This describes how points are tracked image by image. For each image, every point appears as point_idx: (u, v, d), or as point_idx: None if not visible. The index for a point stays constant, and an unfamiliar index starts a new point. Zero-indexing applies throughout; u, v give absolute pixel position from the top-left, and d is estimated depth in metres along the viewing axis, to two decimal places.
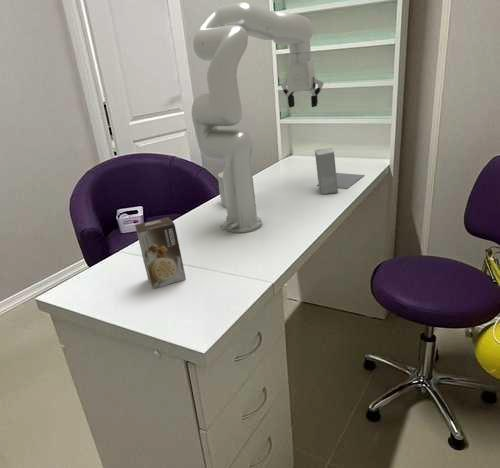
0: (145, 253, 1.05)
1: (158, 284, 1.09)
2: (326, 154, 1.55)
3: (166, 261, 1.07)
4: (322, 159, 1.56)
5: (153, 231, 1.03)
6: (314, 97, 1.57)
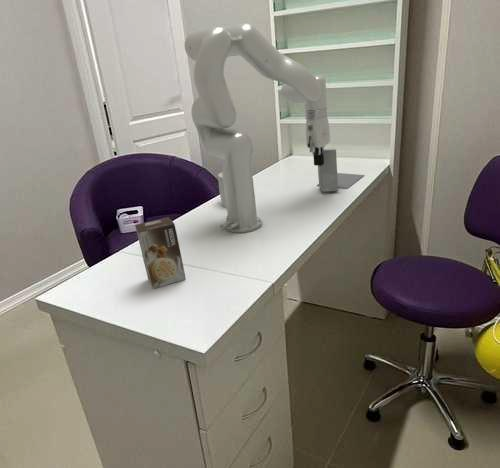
0: (145, 253, 1.05)
1: (158, 284, 1.09)
2: (328, 151, 1.56)
3: (166, 261, 1.07)
4: (324, 156, 1.56)
5: (153, 231, 1.03)
6: None
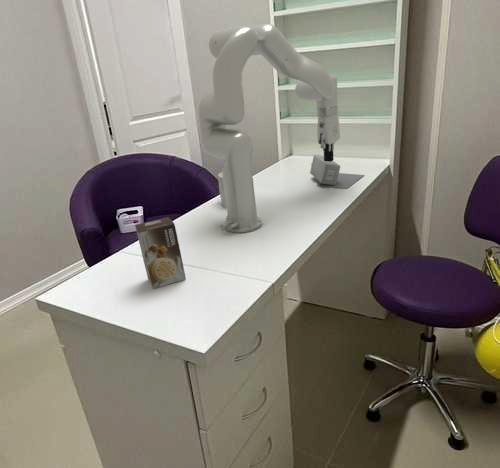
0: (145, 253, 1.05)
1: (158, 284, 1.09)
2: (321, 156, 1.79)
3: (166, 261, 1.07)
4: (319, 156, 1.77)
5: (153, 231, 1.03)
6: None
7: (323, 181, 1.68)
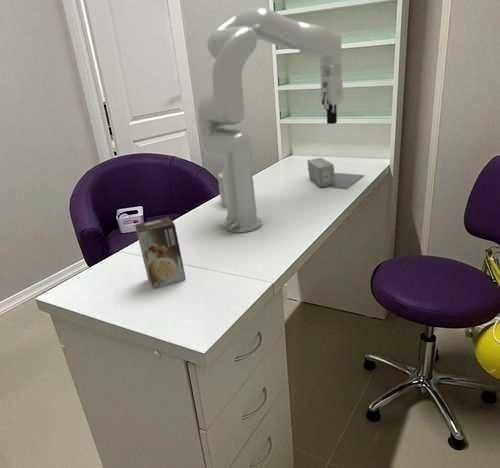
0: (145, 253, 1.05)
1: (158, 284, 1.09)
2: None
3: (166, 261, 1.07)
4: (312, 160, 1.78)
5: (153, 231, 1.03)
6: None
7: (322, 184, 1.68)
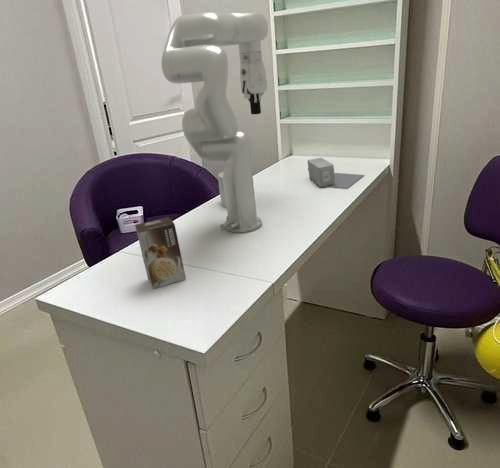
0: (145, 253, 1.05)
1: (158, 284, 1.09)
2: None
3: (166, 261, 1.07)
4: (312, 160, 1.78)
5: (153, 231, 1.03)
6: None
7: (322, 184, 1.68)
